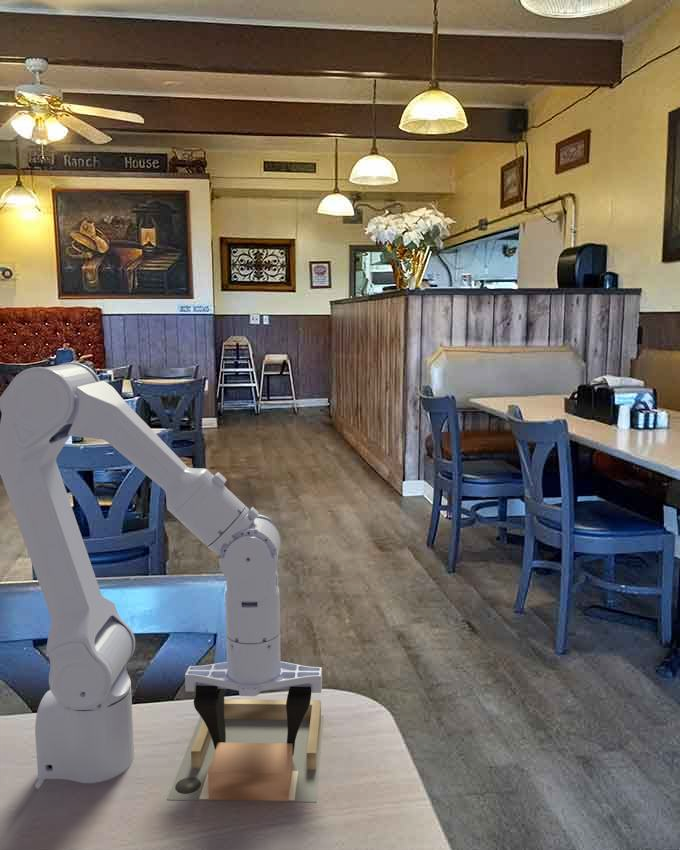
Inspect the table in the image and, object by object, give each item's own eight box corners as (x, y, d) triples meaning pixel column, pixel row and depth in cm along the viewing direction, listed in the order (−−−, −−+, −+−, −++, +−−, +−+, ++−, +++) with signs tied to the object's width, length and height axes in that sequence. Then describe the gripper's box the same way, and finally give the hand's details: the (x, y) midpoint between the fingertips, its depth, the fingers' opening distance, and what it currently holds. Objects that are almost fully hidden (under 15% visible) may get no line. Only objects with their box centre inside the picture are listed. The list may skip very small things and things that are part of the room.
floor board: (167, 805, 70) (167, 799, 70) (201, 718, 85) (201, 714, 85) (316, 807, 70) (316, 801, 70) (323, 720, 85) (323, 715, 85)
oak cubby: (191, 768, 75) (190, 751, 75) (211, 714, 85) (211, 699, 85) (316, 770, 75) (315, 752, 74) (321, 715, 85) (321, 700, 85)
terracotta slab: (208, 799, 70) (207, 772, 70) (218, 768, 75) (217, 742, 74) (288, 800, 70) (287, 773, 69) (292, 769, 75) (292, 743, 74)
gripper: (175, 648, 70) (180, 772, 72) (319, 650, 70) (320, 774, 72) (192, 619, 77) (196, 732, 79) (322, 620, 77) (323, 734, 79)
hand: (255, 750), depth 76 cm, fingers open, 7 cm apart
